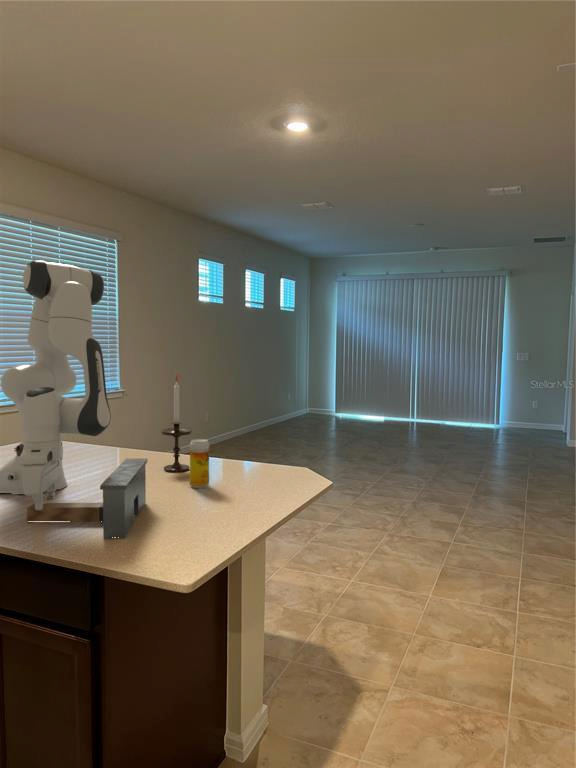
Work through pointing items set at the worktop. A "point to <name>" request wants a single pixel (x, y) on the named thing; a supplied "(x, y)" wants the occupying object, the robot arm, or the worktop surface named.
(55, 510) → the rod
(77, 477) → the worktop surface
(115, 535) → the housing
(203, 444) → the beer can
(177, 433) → the candlestick
